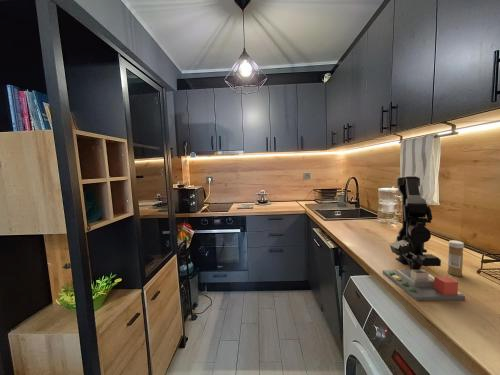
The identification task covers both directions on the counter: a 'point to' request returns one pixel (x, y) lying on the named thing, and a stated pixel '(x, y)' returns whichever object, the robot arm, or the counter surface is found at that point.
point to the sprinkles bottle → (455, 258)
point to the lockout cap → (446, 285)
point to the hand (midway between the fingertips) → (413, 274)
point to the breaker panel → (419, 286)
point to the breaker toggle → (419, 275)
